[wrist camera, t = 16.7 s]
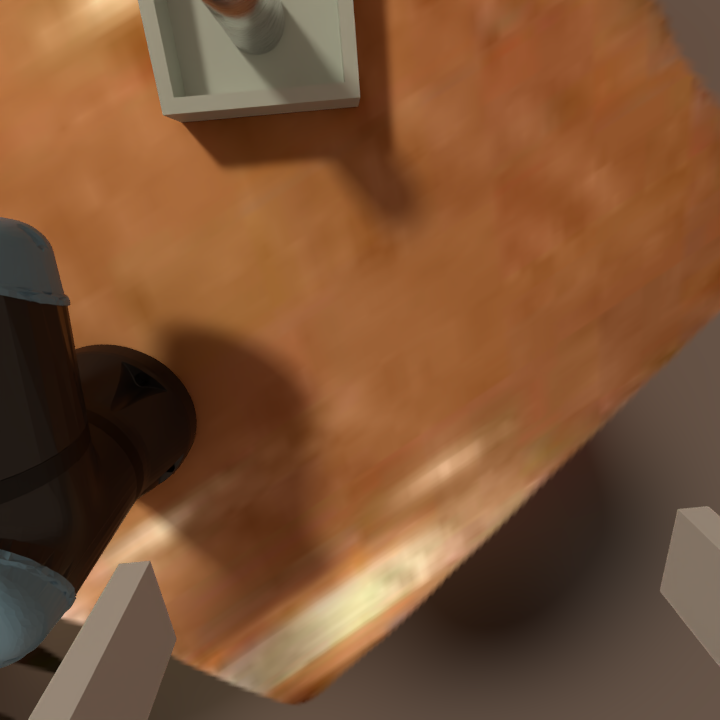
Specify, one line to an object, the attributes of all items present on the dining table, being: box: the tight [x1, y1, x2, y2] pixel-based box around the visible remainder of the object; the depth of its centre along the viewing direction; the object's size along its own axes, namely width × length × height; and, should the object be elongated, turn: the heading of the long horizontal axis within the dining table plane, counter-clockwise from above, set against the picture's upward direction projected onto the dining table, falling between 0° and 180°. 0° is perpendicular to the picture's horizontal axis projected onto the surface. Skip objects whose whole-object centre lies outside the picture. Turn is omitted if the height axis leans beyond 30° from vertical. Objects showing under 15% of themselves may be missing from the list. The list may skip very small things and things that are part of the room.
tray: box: [138, 0, 360, 122], centre depth 31 cm, size 14×12×4 cm
